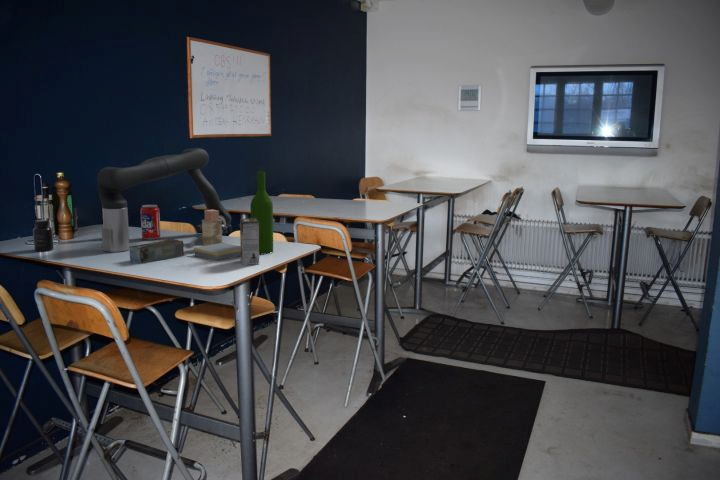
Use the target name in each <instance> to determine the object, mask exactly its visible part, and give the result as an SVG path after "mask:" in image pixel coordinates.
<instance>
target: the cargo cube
mask: <svg viewBox="0 0 720 480" xmlns="http://www.w3.org/2000/svg"><path fill="white" fill-rule="evenodd" d="M219 212H220V211H219V210H208V209H204V220H207V221H216V220H219Z"/></svg>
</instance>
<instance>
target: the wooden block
mask: <svg viewBox="0 0 720 480" xmlns="http://www.w3.org/2000/svg"><path fill="white" fill-rule="evenodd" d="M201 225H202V233H203V234H202V233H201V234H202V246H207V245H212V244H218V243H223V233H222V220H216V221H207V220H205V219H201Z"/></svg>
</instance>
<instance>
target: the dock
mask: <svg viewBox="0 0 720 480" xmlns="http://www.w3.org/2000/svg"><path fill="white" fill-rule="evenodd" d="M193 251H194V256H197V257H202V258H206V259H210V260H213V261H221V260H226V259H231V258H236V257H241V245H237V244H231V243H227V242H222V243H218V244H212V245H207V246H203V245H202V246H196V247H194V248H193Z"/></svg>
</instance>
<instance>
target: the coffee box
mask: <svg viewBox="0 0 720 480" xmlns="http://www.w3.org/2000/svg"><path fill="white" fill-rule="evenodd" d="M239 237H240V239H239V240H240V242H239V246H241V256H240V262H241V264H242V266H246V265H245V264H254V265H257V264H256V263H259V264H260V254H259V222H258V220H257V218H251V217H250V218H247V217H246V218H239Z"/></svg>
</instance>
